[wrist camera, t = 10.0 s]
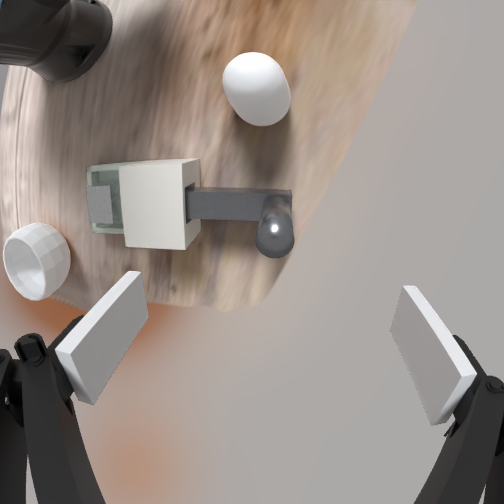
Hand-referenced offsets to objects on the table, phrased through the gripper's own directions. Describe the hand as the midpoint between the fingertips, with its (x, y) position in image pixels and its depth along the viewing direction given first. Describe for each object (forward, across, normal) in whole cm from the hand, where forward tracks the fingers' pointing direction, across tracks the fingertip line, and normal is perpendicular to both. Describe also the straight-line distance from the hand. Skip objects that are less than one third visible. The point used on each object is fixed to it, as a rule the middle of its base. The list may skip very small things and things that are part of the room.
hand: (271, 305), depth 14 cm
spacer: (+23, -21, 0) cm, 31 cm away
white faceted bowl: (+27, -38, -9) cm, 48 cm away
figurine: (+27, -2, +13) cm, 30 cm away
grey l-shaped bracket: (+24, -9, 0) cm, 25 cm away
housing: (+27, -14, 0) cm, 30 cm away
